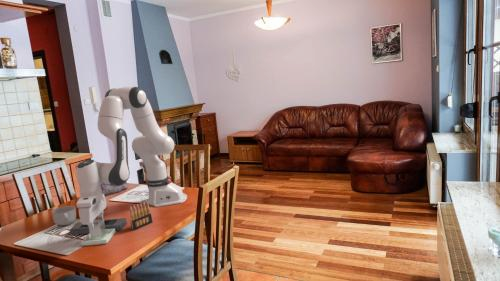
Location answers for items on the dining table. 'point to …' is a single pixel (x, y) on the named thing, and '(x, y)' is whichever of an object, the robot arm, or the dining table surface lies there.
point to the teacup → (64, 215)
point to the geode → (112, 188)
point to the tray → (88, 241)
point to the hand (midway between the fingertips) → (97, 225)
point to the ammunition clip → (140, 216)
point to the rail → (109, 224)
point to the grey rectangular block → (98, 230)
